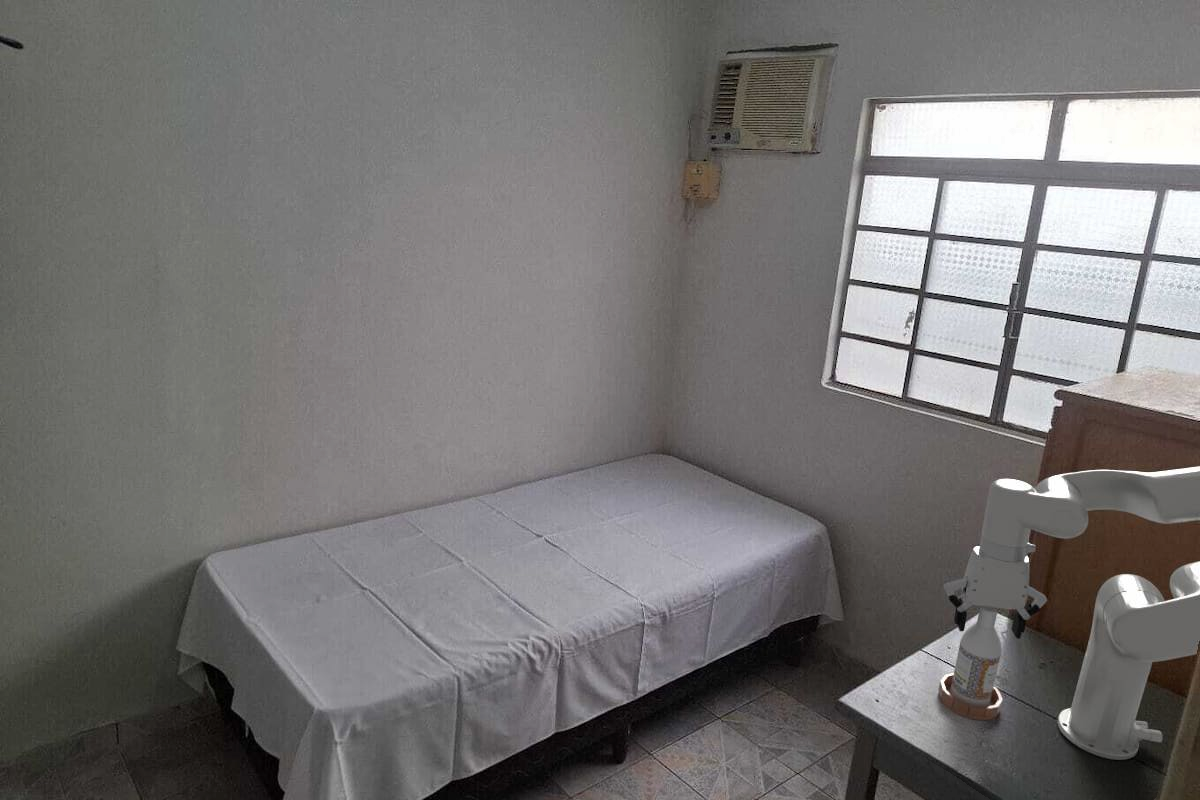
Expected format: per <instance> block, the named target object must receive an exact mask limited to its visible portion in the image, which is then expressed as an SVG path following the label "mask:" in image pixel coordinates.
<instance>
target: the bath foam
mask: <svg viewBox="0 0 1200 800" xmlns="http://www.w3.org/2000/svg"><path fill="white" fill-rule="evenodd" d="M979 606H980V607H979V611H978V616H977V621H976V622H974V623H973V624H972V625H970V626H969V627H968V628H967V629H966V630H964V632H963V635H962V637H961V639H960V642H959V647H958V652H957V657H956V661H955V666H954V671H953V673H954V675H953V680H952V685H951V690H950V693H951V695H952V696H954V697H955V698H956V699H958V700H960V701H962V702H965V703H967V704H969V705H974V706H980V707H987V706H989V703H990V699H991V695H992V691H993V687H995V686H994V685H995V682H996V677H997V673H998V669H999V664H1000V660H1001V655H1002V642H1001V638H1000V636H999V634H998V632H997V630H996V627H995V624H996V622H997V621H996V620H997V616H998V611H999V610H998V608H997V607H989V606H981V605H979Z"/></svg>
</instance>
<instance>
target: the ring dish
mask: <svg viewBox="0 0 1200 800" xmlns="http://www.w3.org/2000/svg"><path fill="white" fill-rule="evenodd" d="M953 675H954V672H950V673H946V674H944V676H943V677H942V678H941V679H940V680H939V685H938V697H939V699H940V701H941V703H942V704H943V705H944V706H945V707H946V708H947V709H949V710H950V711H951V712H954V713H955V714H957V715H959V716H960V717H964V718H967V719H969V720H974V721H981V722H982V721H991V720H993V719H995V718H997V716H998V715H999V713H1000V710H1001V709H1002V705H1003V700H1004V699H1003V696H1002V694H1001V692H1000V689H998V688H997V687H996V686H994V687H993V691H992V695H991V699H990V703H989V706H987V707H980V706H974V705H969V704H967V703H965V702H962V701H960V700H958V699H956V698H955V697H954V696H952V695H951V693H950V690H951V685H952V680H953Z"/></svg>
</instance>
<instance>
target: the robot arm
mask: <svg viewBox="0 0 1200 800" xmlns="http://www.w3.org/2000/svg"><path fill="white" fill-rule="evenodd" d="M987 494H988V495H987V498H986V499H987V500H986V507H985V511H984V516H983V517H984V518H983V523H982V530H981V536H980V540H979V546H975V547H974V548H973V549H972V552H971V553H970V557H969V560H968V562H967V564H966V565H967V566H966V567H965V568H966V569H965V572H964V576H963V578H958V579H956V580H952V581H949V582H946V583H943V588H944V590H945V593H946V594H947V597H948V600H949V602H951V604H952V605H953V606H954V607H955V613H954V618H953V620H954V624H955V625H957V628H958V631H959V632H963V633H964V632H965V628H966V627H965V626H966V621H967V616H968V613H967V609H968V608H970V607H971V606H973V605H974V606H975V605H976V606H989V607H996V608H997V609H999V608H1000V609H1007V610H1015V612H1014V614H1013V620H1012V625H1011V631H1012V633H1013V635H1014V637H1015V638H1016V639H1019V640H1020V639H1021V638H1022V633H1023V634H1024V633H1025V630H1026V625H1027V621H1028V620H1030V618H1031V616H1033V615H1035V614H1036V613H1038V612H1039V611H1040V609H1041V608H1042V607H1043V606H1044V605H1045V604H1046V603H1047V602H1048V599H1047V597H1046V595H1045V594H1044V593H1042V592H1040V591H1038V590H1037V589H1035V588H1034V587H1031V586H1030V561H1029V560H1030V559H1029V557H1028V554H1029V553H1036V551H1037V550H1036V549H1037V546H1036V544H1033V543H1032V544H1031V543H1030V542H1029V540H1030V535H1031V531H1035V532H1038V533H1041V534H1044V535H1047V536H1051V537H1054V538H1058V539H1073V538H1076V537H1078V536H1080V535H1082V534H1083V533H1084V532H1085V530H1086V529H1087V527H1088V525H1089V514H1088V512H1089V511H1095V510H1096V511H1099V510H1110V511H1121V512H1126V513H1129V514H1132V515H1136V516H1138V517H1140V518H1144V519H1146V520H1148V521H1152V522H1155V523H1160V524H1164V525H1165V524H1166V525H1167V524H1168V525H1169V524H1177V523H1188V522H1193V521H1194V522H1195V521H1200V465H1199V466H1193V467H1186V468H1177V469H1169V470H1162V471H1154V472H1153V471H1151V472H1146V471H1145V472H1144V471H1134V470H1114V469H1111V470H1110V469H1094V470H1083V471H1075V472H1068V473H1062V474H1057V475H1052V476H1050V477H1047V478H1044V479H1043V480H1041V481H1040V482H1039V483H1037V485H1036V486H1035V487H1033V485H1031V484H1029V483H1027V482H1026V481H1022V480H1019V479H1018V480H1017V479H1013V478H1000V479H996V480H994V481H992V483H990V486H989V490H988V493H987ZM1169 588H1170V592H1171V594H1172V597H1173V598H1172V599H1168V600H1165V598H1164V597H1163V595H1162V593H1161V592H1160V590H1159V589H1158V588H1157V586H1155V585H1154V584H1153V583H1152V582H1151V581H1150V580H1148V579H1146V578H1144V577H1142V576H1140V575H1138V574H1137V575H1136V574H1133V573H1132V574H1130V573H1123V574H1122V573H1121V574H1116V575H1114V576H1112V577H1110V578H1108V579H1107V580H1106V581H1105V582H1104V583H1103V584H1102V585H1101V587H1100V589H1098V592H1097V595H1096V599H1095V604H1094V611H1093V619H1092V623H1091V624H1092V626H1091V630H1090V635H1089V638H1088V639H1089V640H1088V644H1087V647H1086V651H1085V653H1084V654H1085V655H1084V657H1083V661H1082V664H1081V668H1080V669H1081V670H1080V673H1079V676H1078V681H1077V685H1076V689H1075V691H1074V696H1073V700H1072V703H1071V707H1069V708H1068V707H1067V708H1066V709H1063V710H1061V711H1060V712H1059V714H1058V717H1057V726H1058V729H1059V731H1060V732H1061V733H1062V734H1063V736H1065V737H1066V738H1067V740H1069V741H1070V742H1071V743H1072V744H1074V745H1075V746H1077V747H1078V748H1079V749H1081V750H1084V751H1085V752H1087V753H1090V754H1092V755H1094V756H1098V757H1101V758H1105V759H1108V760H1117V761H1118V760H1119V761H1123V760H1129V759H1131V758H1134V757H1135V756H1136V755H1137V753H1138V750H1139V746H1140V744H1139V741H1142V740H1146V741H1147V740H1148V741H1151V742H1158V743H1162V741H1163V733H1162V732H1161V731H1160V730H1159V729H1158V730H1156V729H1152V728H1149V724H1148V722H1147V721H1142V720H1136V719H1137V716H1138V715H1137V714H1138V711H1139V708H1140V704H1141V701H1142V699H1143V694H1144V691H1145V687H1146V685H1147V682H1148V677H1149V675H1150V672H1151V669H1152V665H1153V663H1155V662H1163V661H1168V660H1174V659H1179V658H1183V657H1190V656H1193V655H1198V654H1197V650H1198V644H1199V641H1200V560H1199V561H1195V562H1192V563H1191V562H1190V563H1187V564H1184V565H1182V566H1180V567H1178V568H1177V569H1175V570H1174V571H1173V573H1172V574H1171V576H1170V579H1169ZM961 589H962V594H961V595H959V596H957V595H956V594H955V591H957V590H961ZM1028 596H1029V597H1031V598H1033V601H1032V602H1029V603H1027V601H1028Z"/></svg>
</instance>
